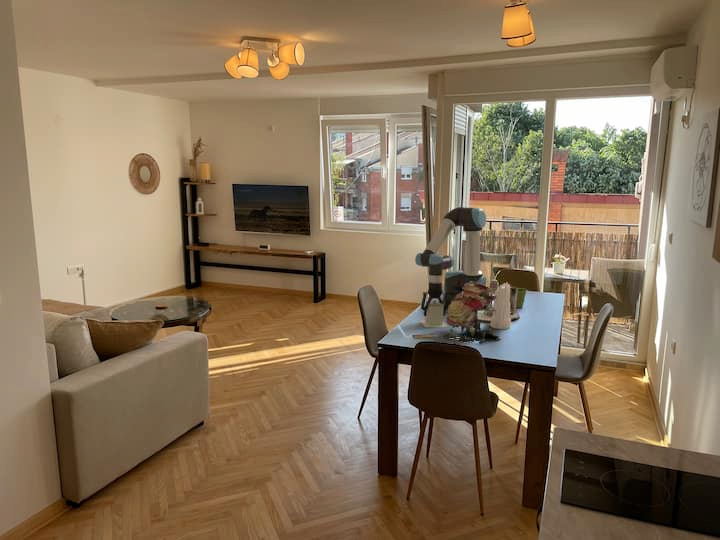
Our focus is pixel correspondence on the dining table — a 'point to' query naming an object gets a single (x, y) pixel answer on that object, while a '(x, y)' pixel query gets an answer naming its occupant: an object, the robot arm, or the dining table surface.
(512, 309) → the coffee box
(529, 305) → the dining table surface
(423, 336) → the tan mat
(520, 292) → the plant pot
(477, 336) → the rose bouquet
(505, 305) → the decorative vase
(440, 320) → the sage cover
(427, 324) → the cream plate
